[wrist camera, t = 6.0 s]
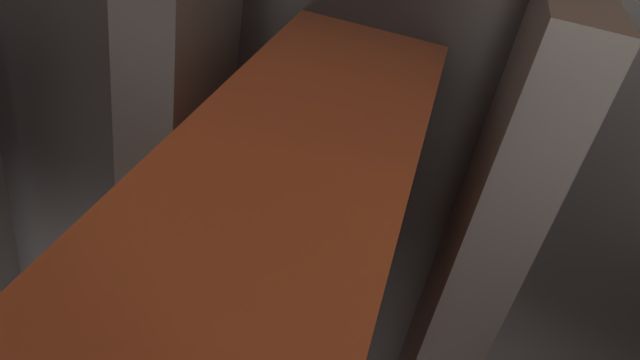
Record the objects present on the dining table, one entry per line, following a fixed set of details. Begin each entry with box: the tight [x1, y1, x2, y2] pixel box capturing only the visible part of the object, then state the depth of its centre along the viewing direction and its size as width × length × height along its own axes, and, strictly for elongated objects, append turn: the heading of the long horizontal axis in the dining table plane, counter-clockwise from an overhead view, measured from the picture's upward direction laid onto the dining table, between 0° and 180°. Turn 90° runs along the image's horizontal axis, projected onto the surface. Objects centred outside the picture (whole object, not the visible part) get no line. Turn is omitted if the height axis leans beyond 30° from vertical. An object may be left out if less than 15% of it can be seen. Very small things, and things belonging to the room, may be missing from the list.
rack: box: [0, 0, 640, 360], centre depth 12 cm, size 20×14×4 cm
